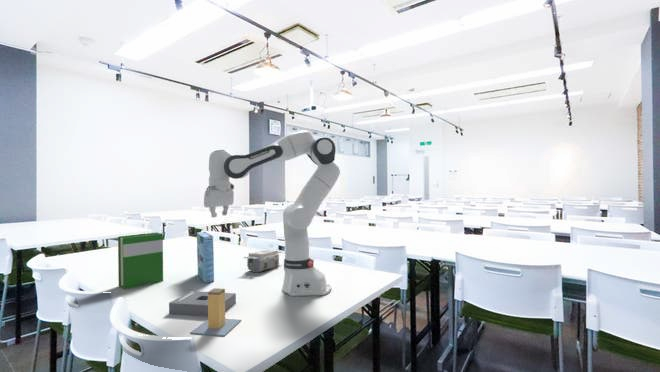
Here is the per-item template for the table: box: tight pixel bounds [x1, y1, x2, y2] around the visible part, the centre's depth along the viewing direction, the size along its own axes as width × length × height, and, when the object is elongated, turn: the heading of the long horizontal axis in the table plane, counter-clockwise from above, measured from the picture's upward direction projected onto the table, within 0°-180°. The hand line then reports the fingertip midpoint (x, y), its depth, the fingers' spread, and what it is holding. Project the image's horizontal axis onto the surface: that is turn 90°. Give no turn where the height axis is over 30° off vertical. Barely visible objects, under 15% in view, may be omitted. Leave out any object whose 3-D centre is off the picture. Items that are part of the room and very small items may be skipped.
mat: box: [189, 318, 242, 337], centre depth 110 cm, size 12×12×1 cm
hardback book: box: [117, 232, 164, 290], centre depth 161 cm, size 18×7×24 cm, turn 139°
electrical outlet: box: [243, 249, 283, 273], centre depth 188 cm, size 12×28×10 cm, turn 158°
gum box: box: [196, 231, 215, 284], centre depth 170 cm, size 19×5×23 cm, turn 31°
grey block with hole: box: [168, 290, 237, 317], centre depth 128 cm, size 20×14×4 cm
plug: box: [207, 287, 226, 329], centre depth 111 cm, size 4×4×12 cm
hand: (219, 216), depth 148 cm, fingers open, 8 cm apart
